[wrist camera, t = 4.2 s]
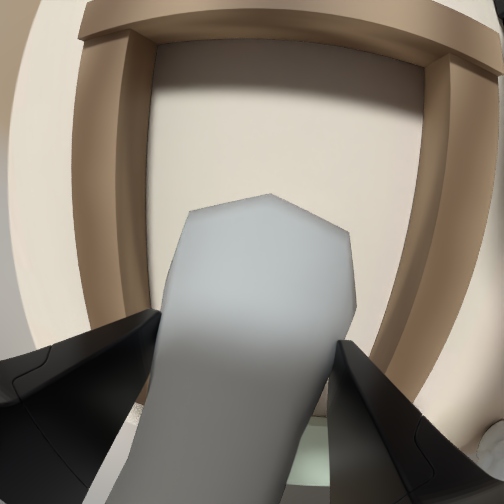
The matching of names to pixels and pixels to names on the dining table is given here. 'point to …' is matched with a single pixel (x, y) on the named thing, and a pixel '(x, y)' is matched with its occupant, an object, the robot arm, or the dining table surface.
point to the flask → (239, 354)
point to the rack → (308, 30)
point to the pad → (312, 456)
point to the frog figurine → (492, 451)
